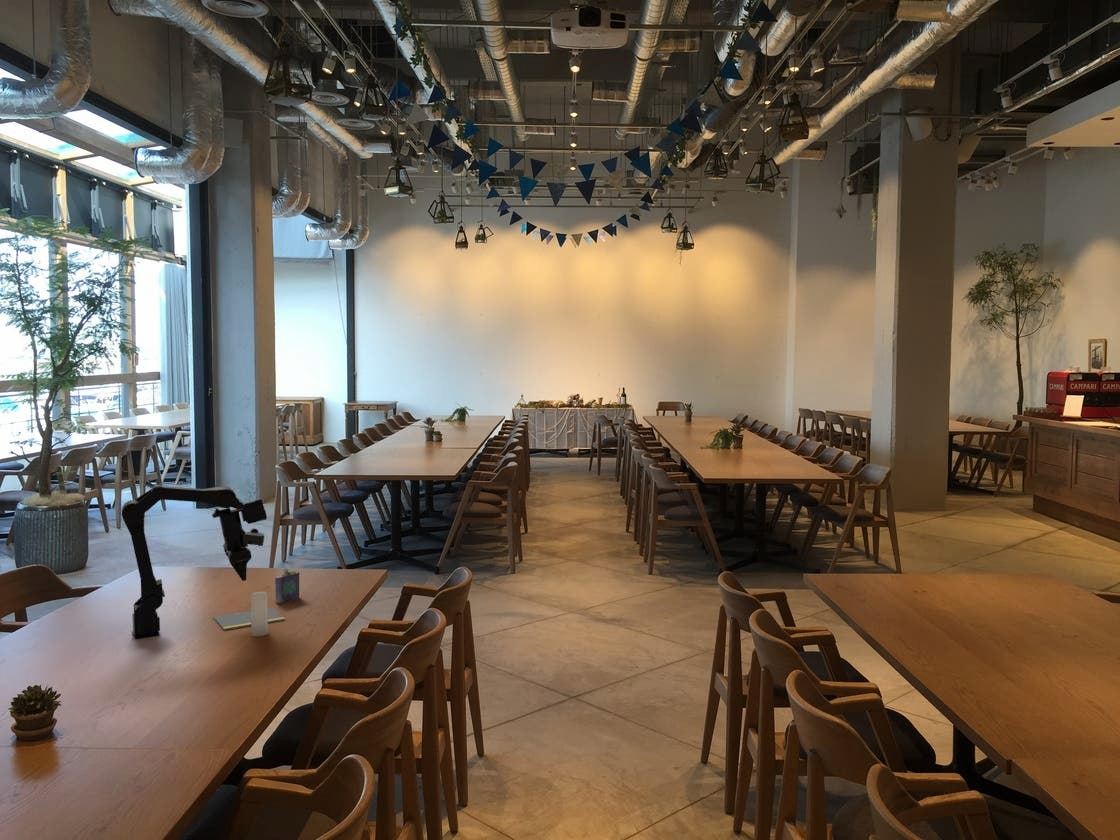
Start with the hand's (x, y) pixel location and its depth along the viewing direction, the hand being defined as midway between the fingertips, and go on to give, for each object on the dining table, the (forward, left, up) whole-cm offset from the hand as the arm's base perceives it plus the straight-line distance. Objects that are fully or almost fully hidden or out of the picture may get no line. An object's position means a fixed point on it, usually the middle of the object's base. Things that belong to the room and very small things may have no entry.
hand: (242, 576), depth 266 cm
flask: (+18, +16, -14) cm, 28 cm away
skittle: (+1, -14, -14) cm, 20 cm away
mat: (+2, +2, -14) cm, 14 cm away
